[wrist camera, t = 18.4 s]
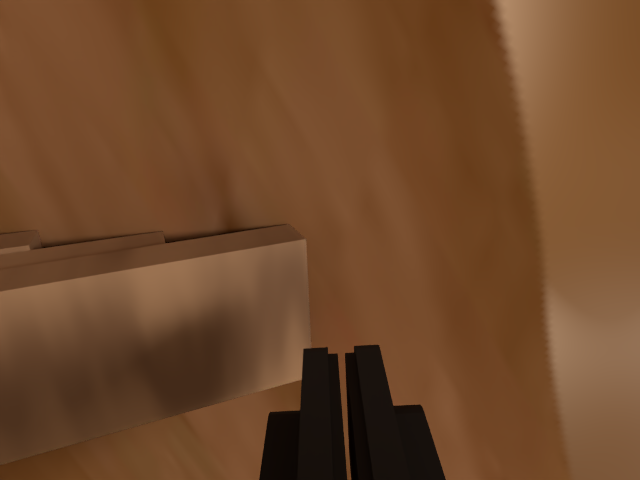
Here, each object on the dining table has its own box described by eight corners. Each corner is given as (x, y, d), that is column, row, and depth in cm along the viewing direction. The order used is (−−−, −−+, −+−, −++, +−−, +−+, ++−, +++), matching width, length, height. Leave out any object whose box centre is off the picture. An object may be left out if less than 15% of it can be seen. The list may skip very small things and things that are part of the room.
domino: (312, 376, 15) (-39, 476, 12) (297, 351, 17) (-22, 434, 13) (306, 239, 14) (-108, 310, 10) (289, 223, 15) (-80, 282, 12)
